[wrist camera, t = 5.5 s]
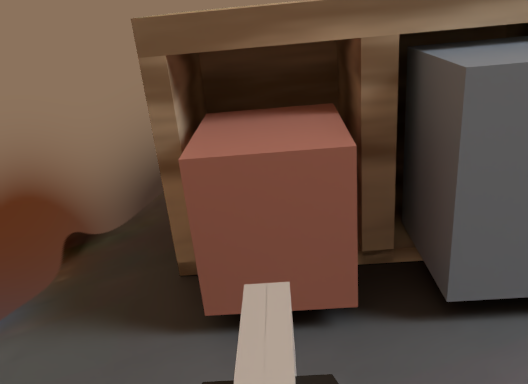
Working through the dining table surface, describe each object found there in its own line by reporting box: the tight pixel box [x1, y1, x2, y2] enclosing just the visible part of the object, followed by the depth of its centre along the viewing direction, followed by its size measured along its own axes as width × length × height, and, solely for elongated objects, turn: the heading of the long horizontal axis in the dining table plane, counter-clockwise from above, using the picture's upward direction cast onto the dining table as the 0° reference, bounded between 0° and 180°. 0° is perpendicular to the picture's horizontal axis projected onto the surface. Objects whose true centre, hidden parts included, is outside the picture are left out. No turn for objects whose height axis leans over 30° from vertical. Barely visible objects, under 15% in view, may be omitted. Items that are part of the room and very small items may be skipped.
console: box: [131, 0, 528, 276], centre depth 32 cm, size 12×26×16 cm, turn 89°
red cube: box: [178, 103, 358, 316], centre depth 26 cm, size 9×8×9 cm
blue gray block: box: [402, 36, 528, 302], centre depth 25 cm, size 9×8×12 cm
